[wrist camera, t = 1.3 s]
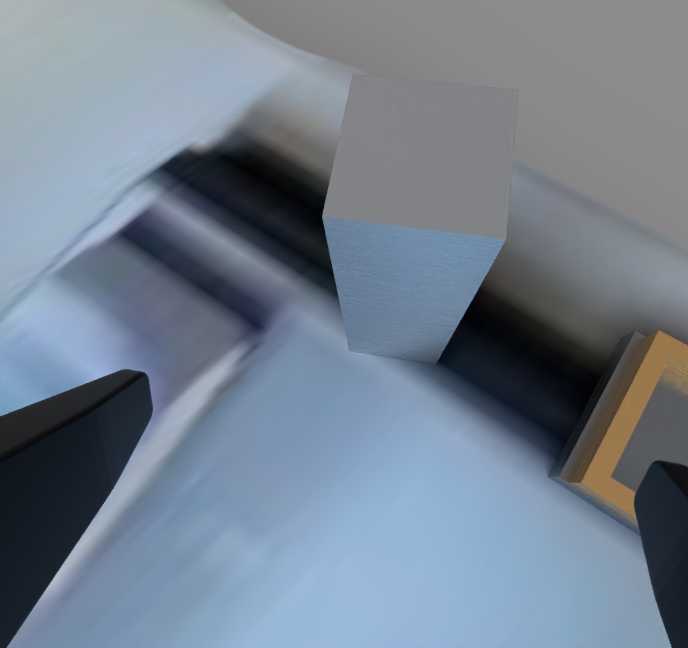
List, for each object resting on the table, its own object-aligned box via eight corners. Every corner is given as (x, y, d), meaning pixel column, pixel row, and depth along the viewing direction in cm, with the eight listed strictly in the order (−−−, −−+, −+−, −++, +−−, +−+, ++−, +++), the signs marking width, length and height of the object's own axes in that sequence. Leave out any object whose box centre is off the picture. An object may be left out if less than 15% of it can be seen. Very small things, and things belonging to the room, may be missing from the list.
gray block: (437, 364, 21) (510, 240, 10) (349, 351, 22) (322, 216, 10) (447, 284, 22) (523, 90, 11) (363, 273, 23) (352, 74, 11)
